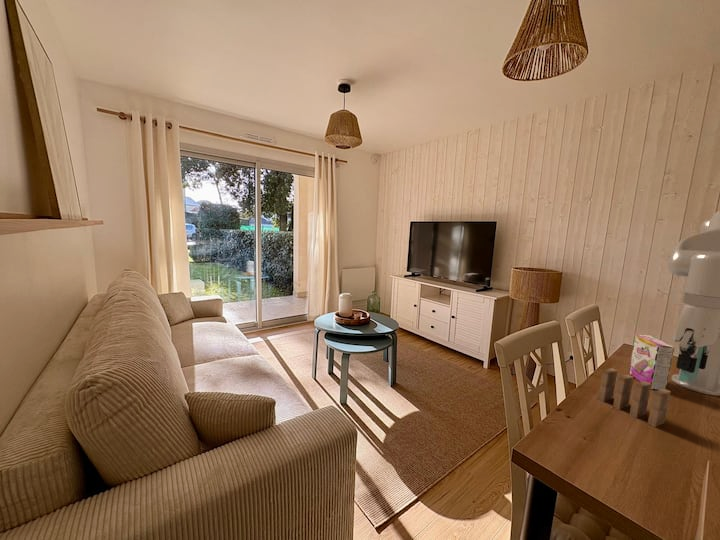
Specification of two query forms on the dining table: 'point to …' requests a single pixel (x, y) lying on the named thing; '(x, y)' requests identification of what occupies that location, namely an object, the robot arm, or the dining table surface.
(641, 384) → the domino
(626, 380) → the domino
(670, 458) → the dining table surface
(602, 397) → the domino
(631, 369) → the candy bar box
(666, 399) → the domino
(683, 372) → the teal domino
